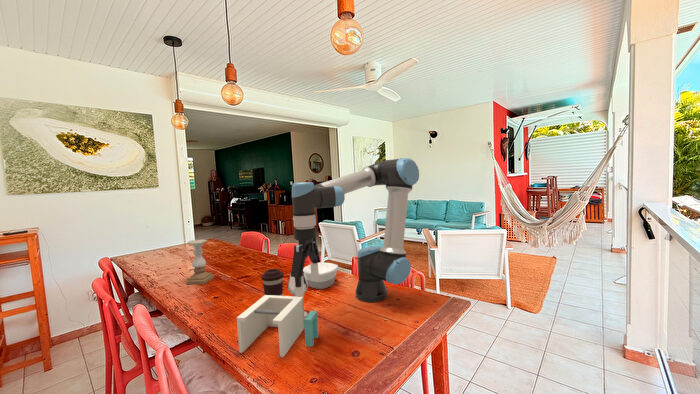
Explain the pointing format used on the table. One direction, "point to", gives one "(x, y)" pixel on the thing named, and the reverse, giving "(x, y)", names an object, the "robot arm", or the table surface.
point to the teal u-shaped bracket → (311, 328)
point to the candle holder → (199, 265)
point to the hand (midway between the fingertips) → (308, 287)
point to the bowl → (322, 275)
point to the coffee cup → (273, 282)
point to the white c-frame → (272, 321)
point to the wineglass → (292, 286)
